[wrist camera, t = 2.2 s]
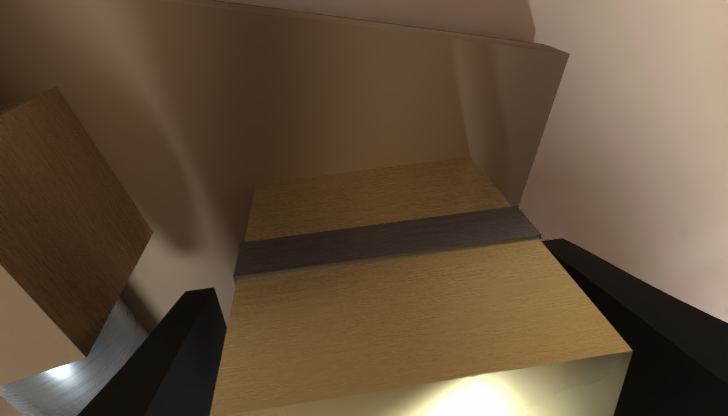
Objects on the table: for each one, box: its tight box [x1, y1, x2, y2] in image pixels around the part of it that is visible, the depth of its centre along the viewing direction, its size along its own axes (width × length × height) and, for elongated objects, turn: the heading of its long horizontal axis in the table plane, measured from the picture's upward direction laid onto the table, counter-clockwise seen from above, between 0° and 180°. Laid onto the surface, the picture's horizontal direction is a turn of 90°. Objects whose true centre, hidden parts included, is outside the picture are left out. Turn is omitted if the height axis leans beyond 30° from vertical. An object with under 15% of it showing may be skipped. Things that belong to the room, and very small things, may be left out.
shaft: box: [0, 86, 154, 416], centre depth 9 cm, size 9×5×4 cm, turn 17°
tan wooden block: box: [210, 157, 633, 416], centre depth 9 cm, size 5×5×6 cm
